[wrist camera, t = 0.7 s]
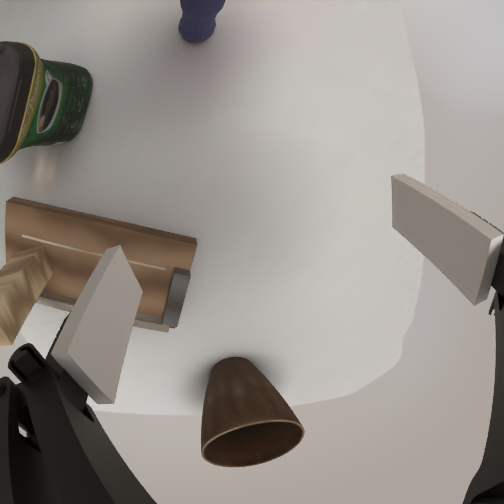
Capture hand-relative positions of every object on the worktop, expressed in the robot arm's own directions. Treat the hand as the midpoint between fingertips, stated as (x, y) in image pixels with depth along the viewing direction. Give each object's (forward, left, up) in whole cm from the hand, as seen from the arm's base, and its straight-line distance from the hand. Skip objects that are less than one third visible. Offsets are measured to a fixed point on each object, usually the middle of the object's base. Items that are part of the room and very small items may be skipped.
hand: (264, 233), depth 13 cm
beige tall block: (+17, -20, -20) cm, 33 cm away
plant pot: (+32, +13, -23) cm, 41 cm away
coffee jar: (-3, -20, -23) cm, 30 cm away
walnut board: (+16, -12, -22) cm, 30 cm away
